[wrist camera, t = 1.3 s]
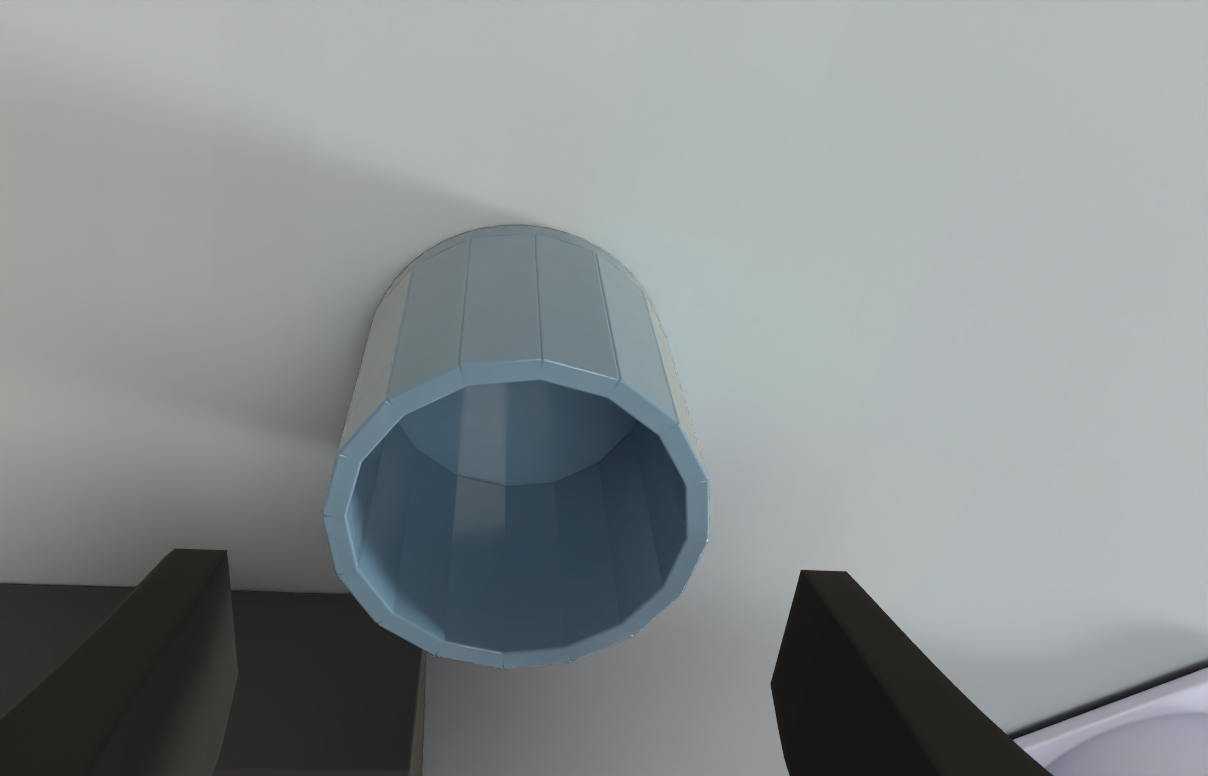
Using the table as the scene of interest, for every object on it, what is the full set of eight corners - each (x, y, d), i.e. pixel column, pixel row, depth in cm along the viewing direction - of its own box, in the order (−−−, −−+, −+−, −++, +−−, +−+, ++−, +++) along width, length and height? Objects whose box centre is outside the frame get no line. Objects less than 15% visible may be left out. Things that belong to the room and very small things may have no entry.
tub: (708, 414, 20) (764, 584, 15) (461, 523, 21) (448, 714, 16) (585, 170, 17) (611, 292, 13) (308, 307, 18) (244, 465, 14)
